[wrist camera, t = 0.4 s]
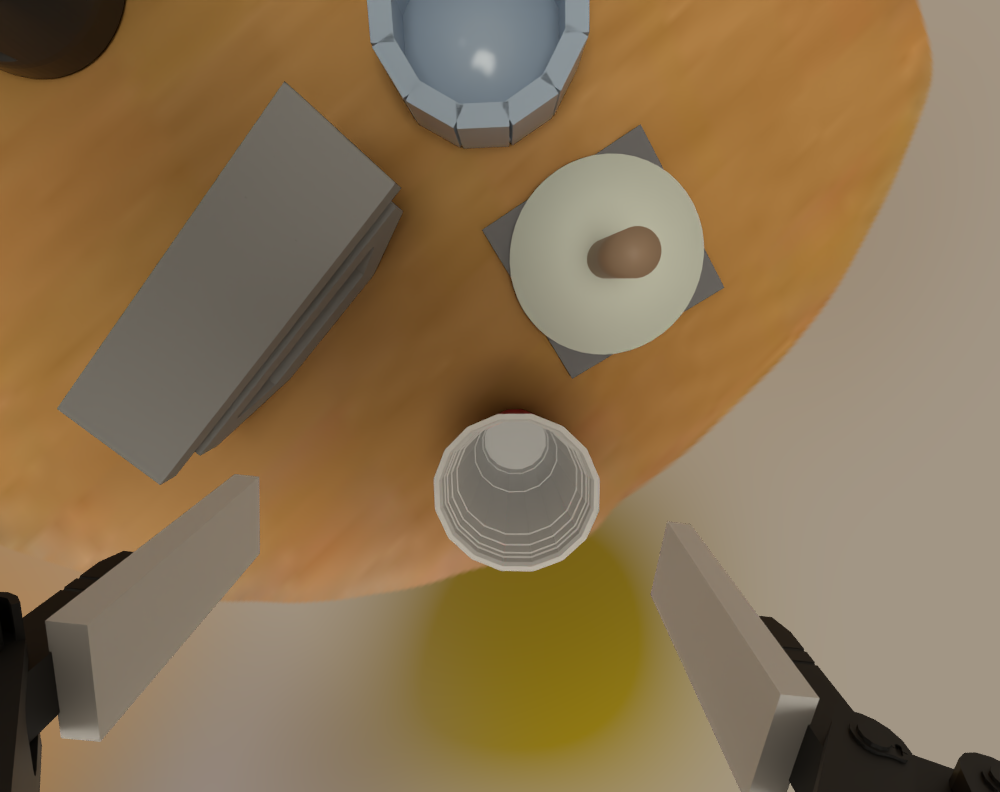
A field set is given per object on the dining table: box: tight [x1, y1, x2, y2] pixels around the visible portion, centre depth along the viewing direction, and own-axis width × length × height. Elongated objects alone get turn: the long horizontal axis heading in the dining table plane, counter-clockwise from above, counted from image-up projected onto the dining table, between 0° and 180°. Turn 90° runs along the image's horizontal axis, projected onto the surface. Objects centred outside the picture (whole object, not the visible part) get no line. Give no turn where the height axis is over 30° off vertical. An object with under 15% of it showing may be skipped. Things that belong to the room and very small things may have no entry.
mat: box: [483, 124, 724, 378], centre depth 39 cm, size 14×14×1 cm
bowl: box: [367, 0, 589, 148], centre depth 33 cm, size 14×14×5 cm
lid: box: [510, 154, 704, 355], centre depth 34 cm, size 15×15×10 cm
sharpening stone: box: [57, 81, 403, 485], centre depth 35 cm, size 25×8×11 cm, turn 138°
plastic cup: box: [434, 409, 600, 571], centre depth 37 cm, size 11×11×12 cm
